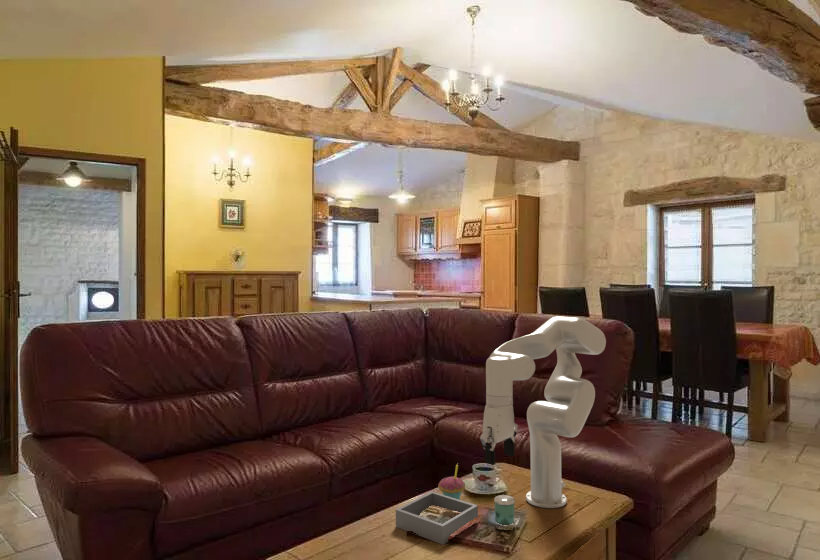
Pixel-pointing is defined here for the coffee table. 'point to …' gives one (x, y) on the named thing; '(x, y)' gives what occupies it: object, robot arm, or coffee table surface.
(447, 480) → the cupcake
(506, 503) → the tea tin
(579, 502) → the coffee table surface
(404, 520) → the bin
